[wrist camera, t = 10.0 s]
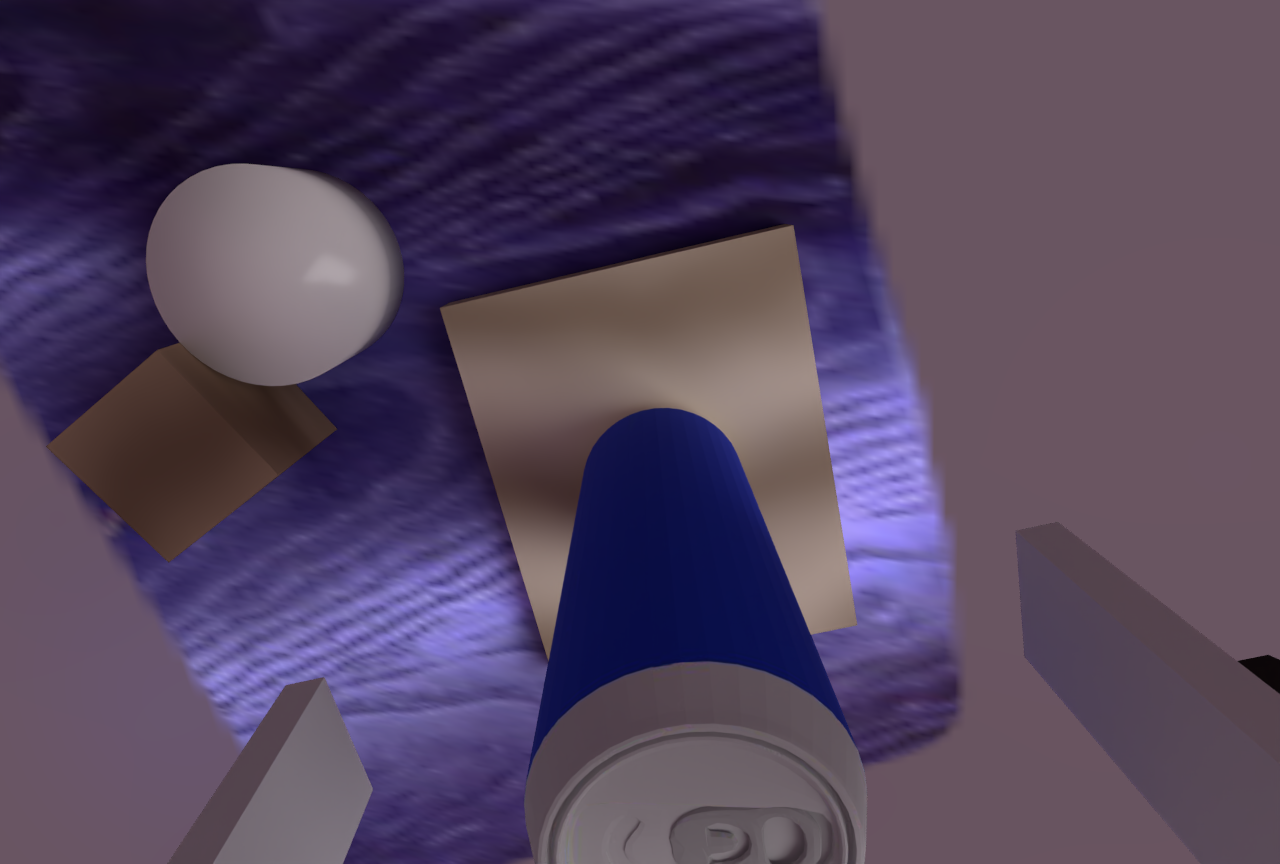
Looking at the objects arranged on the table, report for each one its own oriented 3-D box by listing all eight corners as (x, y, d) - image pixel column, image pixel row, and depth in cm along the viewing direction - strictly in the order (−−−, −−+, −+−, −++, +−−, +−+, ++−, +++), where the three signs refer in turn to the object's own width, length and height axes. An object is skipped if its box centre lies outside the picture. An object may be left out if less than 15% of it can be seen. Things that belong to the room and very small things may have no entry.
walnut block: (146, 404, 25) (45, 446, 21) (240, 323, 24) (157, 349, 20) (244, 502, 26) (168, 562, 22) (338, 428, 25) (278, 474, 21)
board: (448, 302, 24) (439, 308, 23) (785, 224, 23) (793, 225, 22) (559, 666, 28) (556, 686, 27) (847, 607, 28) (857, 624, 26)
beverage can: (594, 555, 25) (542, 1014, 11) (574, 411, 24) (485, 725, 10) (745, 541, 25) (889, 985, 11) (734, 394, 24) (887, 688, 9)
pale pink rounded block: (183, 194, 23) (108, 193, 20) (368, 148, 23) (324, 138, 19) (256, 378, 25) (198, 406, 21) (429, 338, 24) (398, 359, 21)
